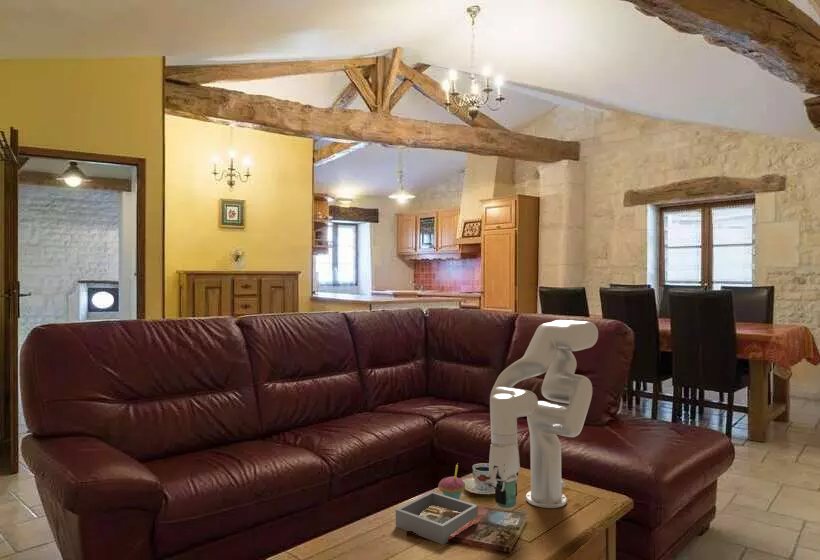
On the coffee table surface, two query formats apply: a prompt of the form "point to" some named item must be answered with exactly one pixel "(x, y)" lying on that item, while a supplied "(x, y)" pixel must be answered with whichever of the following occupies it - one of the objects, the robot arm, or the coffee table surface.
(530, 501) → the robot arm
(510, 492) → the tea tin
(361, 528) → the coffee table surface
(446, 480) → the cupcake
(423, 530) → the bin
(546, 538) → the coffee table surface
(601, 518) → the coffee table surface
